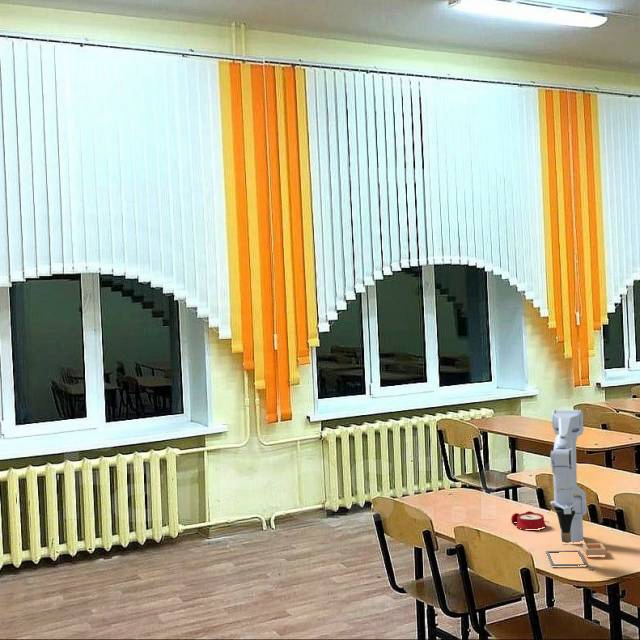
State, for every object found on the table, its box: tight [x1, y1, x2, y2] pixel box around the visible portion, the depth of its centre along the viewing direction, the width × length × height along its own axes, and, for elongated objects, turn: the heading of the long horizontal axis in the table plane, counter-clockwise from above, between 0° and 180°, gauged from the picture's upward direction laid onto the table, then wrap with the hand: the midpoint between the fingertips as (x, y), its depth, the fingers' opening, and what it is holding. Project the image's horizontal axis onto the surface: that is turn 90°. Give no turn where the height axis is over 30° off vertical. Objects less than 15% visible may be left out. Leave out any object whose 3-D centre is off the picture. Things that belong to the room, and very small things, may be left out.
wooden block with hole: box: [582, 542, 607, 556], centre depth 269 cm, size 6×6×3 cm
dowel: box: [560, 529, 571, 543], centre depth 264 cm, size 3×3×8 cm
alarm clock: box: [510, 510, 550, 530], centre depth 305 cm, size 10×6×15 cm
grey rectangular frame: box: [545, 550, 588, 567], centre depth 265 cm, size 14×11×1 cm
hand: (565, 531), depth 264 cm, fingers closed on dowel, 3 cm apart
